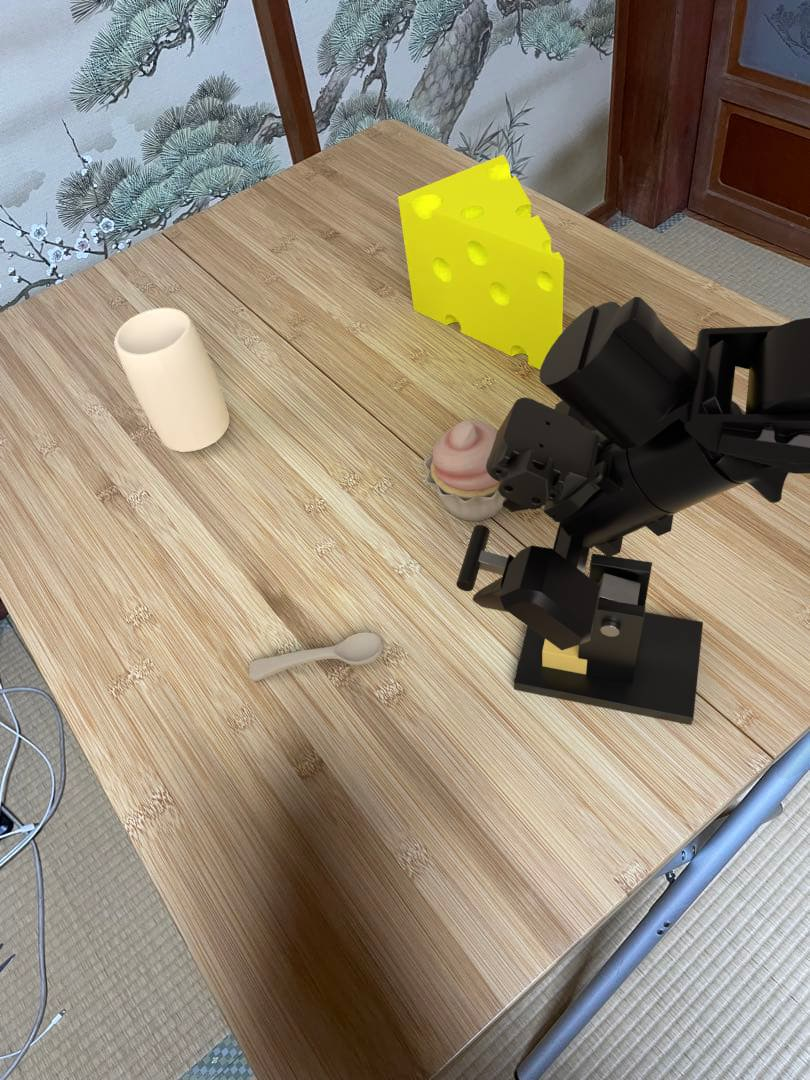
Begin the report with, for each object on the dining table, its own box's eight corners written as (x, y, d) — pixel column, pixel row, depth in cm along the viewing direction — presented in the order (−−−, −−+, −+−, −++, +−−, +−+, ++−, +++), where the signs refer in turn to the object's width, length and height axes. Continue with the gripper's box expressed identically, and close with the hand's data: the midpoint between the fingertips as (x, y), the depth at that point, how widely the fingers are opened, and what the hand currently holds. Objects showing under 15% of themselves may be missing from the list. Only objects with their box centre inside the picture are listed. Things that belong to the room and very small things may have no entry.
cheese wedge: (583, 271, 103) (588, 154, 91) (561, 379, 91) (563, 260, 80) (430, 266, 108) (417, 154, 96) (391, 368, 96) (371, 254, 84)
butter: (553, 616, 71) (553, 600, 69) (596, 623, 70) (597, 607, 68) (542, 666, 68) (542, 651, 66) (586, 674, 67) (587, 659, 65)
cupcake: (485, 550, 78) (478, 478, 70) (409, 507, 82) (396, 435, 75) (543, 489, 82) (543, 413, 74) (468, 451, 86) (460, 376, 78)
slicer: (513, 690, 69) (509, 618, 60) (535, 601, 74) (534, 523, 65) (691, 725, 65) (713, 654, 56) (701, 629, 70) (722, 550, 61)
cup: (228, 399, 96) (188, 295, 85) (241, 447, 91) (200, 342, 80) (157, 422, 95) (106, 319, 84) (166, 471, 90) (113, 369, 79)
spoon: (387, 664, 71) (382, 652, 70) (254, 693, 72) (246, 682, 71) (384, 635, 73) (379, 623, 72) (254, 664, 74) (246, 652, 73)
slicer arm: (454, 592, 63) (458, 575, 61) (471, 536, 66) (475, 518, 64) (624, 642, 62) (634, 626, 60) (634, 582, 65) (643, 565, 63)
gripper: (593, 293, 54) (446, 404, 65) (531, 509, 43) (368, 595, 55) (705, 398, 57) (546, 485, 69) (673, 620, 47) (492, 679, 58)
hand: (492, 552), depth 63 cm, fingers open, 9 cm apart
